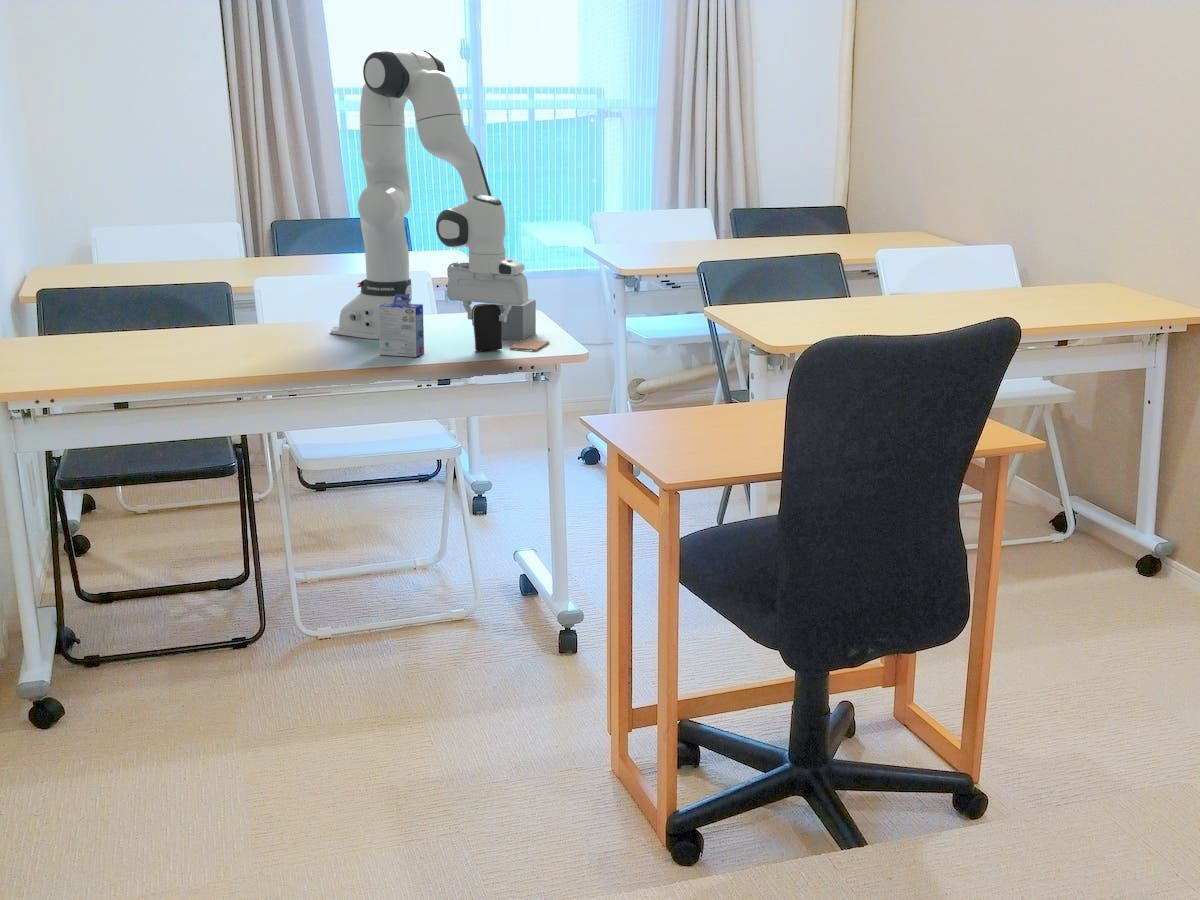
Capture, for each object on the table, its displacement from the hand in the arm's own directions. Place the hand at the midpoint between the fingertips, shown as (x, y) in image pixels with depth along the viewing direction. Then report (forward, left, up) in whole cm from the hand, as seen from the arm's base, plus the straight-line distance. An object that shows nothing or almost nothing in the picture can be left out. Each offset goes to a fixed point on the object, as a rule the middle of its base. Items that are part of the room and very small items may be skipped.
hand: (487, 320), depth 290 cm
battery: (0, 0, -8) cm, 8 cm away
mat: (+8, +8, -8) cm, 14 cm away
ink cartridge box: (-18, -11, -8) cm, 22 cm away
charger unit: (0, +19, -8) cm, 20 cm away
